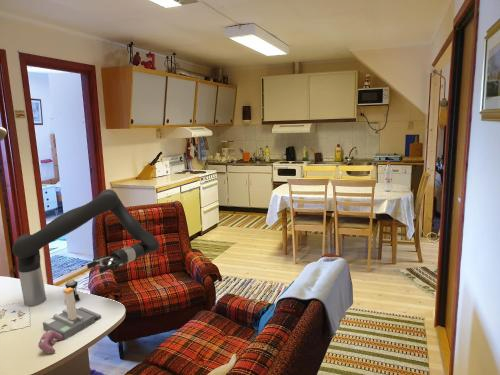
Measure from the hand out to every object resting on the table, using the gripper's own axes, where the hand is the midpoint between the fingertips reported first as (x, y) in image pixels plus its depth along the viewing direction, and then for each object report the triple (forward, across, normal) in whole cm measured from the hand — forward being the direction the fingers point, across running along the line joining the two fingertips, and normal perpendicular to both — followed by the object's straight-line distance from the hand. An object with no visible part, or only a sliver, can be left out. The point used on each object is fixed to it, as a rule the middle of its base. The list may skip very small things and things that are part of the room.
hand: (93, 268), depth 166 cm
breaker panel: (+13, -1, +21) cm, 25 cm away
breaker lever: (+13, +2, +18) cm, 22 cm away
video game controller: (+26, +7, +22) cm, 34 cm away
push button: (0, -19, +21) cm, 28 cm away
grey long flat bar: (+4, -1, +21) cm, 21 cm away
